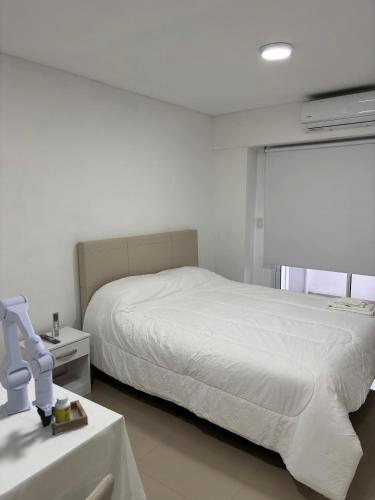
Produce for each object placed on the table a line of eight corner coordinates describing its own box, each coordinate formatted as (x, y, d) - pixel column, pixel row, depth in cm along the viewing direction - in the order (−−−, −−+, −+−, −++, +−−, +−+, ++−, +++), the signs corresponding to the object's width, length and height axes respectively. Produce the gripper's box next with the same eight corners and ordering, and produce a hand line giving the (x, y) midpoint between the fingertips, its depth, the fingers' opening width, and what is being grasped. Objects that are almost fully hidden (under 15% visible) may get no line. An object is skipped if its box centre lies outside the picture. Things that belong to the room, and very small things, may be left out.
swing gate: (55, 429, 131) (54, 420, 131) (51, 430, 131) (51, 421, 130) (51, 413, 140) (50, 405, 139) (47, 414, 139) (47, 406, 139)
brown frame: (45, 416, 140) (45, 406, 140) (78, 407, 147) (78, 397, 146) (52, 435, 130) (52, 424, 129) (88, 424, 136) (87, 414, 135)
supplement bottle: (66, 426, 135) (65, 401, 133) (52, 425, 135) (51, 399, 134) (73, 417, 140) (72, 393, 138) (59, 416, 141) (58, 391, 139)
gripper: (28, 381, 135) (30, 416, 138) (34, 401, 123) (36, 439, 125) (49, 376, 139) (50, 410, 141) (57, 395, 127) (58, 432, 129)
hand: (45, 423), depth 134 cm, fingers closed on swing gate, 2 cm apart
